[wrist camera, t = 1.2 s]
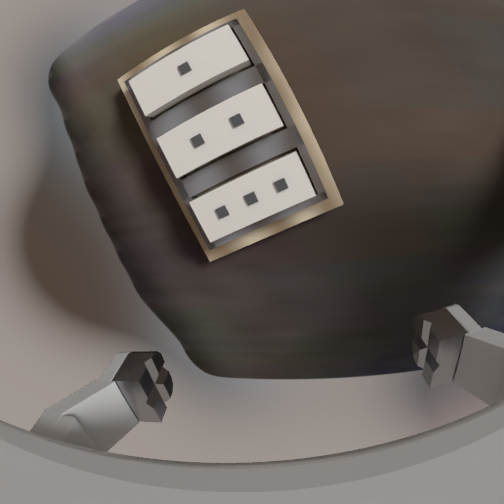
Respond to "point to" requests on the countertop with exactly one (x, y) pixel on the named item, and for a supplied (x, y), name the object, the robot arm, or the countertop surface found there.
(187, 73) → the key one
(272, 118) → the key two
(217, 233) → the key three
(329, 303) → the countertop surface
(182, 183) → the key panel
